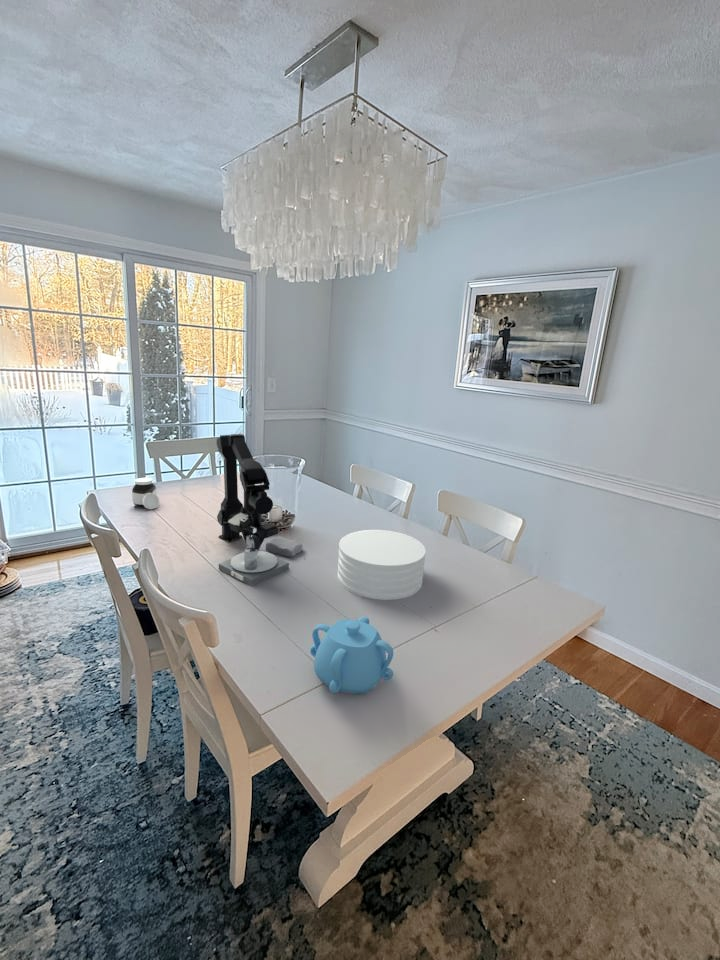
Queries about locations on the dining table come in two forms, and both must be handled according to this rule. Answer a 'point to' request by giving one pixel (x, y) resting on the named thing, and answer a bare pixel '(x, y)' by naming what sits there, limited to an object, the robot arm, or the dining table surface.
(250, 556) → the cylinder
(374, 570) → the plate stack
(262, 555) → the scale
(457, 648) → the dining table surface
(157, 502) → the spread jar
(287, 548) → the stone block
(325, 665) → the decorative pot
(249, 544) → the cylinder
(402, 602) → the dining table surface
